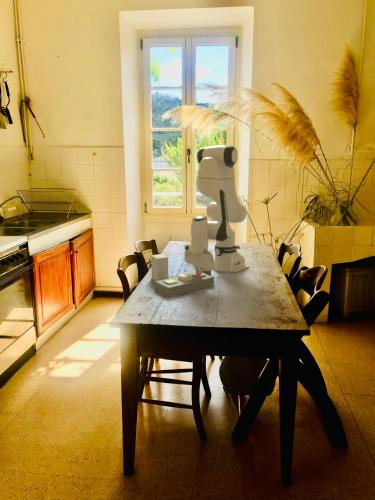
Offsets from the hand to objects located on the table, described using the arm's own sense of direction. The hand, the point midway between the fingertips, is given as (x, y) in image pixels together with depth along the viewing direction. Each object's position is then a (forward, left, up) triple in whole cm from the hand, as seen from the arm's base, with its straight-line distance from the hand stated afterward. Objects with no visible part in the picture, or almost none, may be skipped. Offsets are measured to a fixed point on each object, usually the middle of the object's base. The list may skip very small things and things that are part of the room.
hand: (198, 274), depth 201 cm
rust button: (0, 0, -4) cm, 4 cm away
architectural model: (-14, -11, -6) cm, 19 cm away
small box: (+12, -19, -6) cm, 23 cm away
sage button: (+18, 0, -4) cm, 18 cm away
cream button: (+9, 0, -3) cm, 9 cm away
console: (+9, 0, -5) cm, 10 cm away
